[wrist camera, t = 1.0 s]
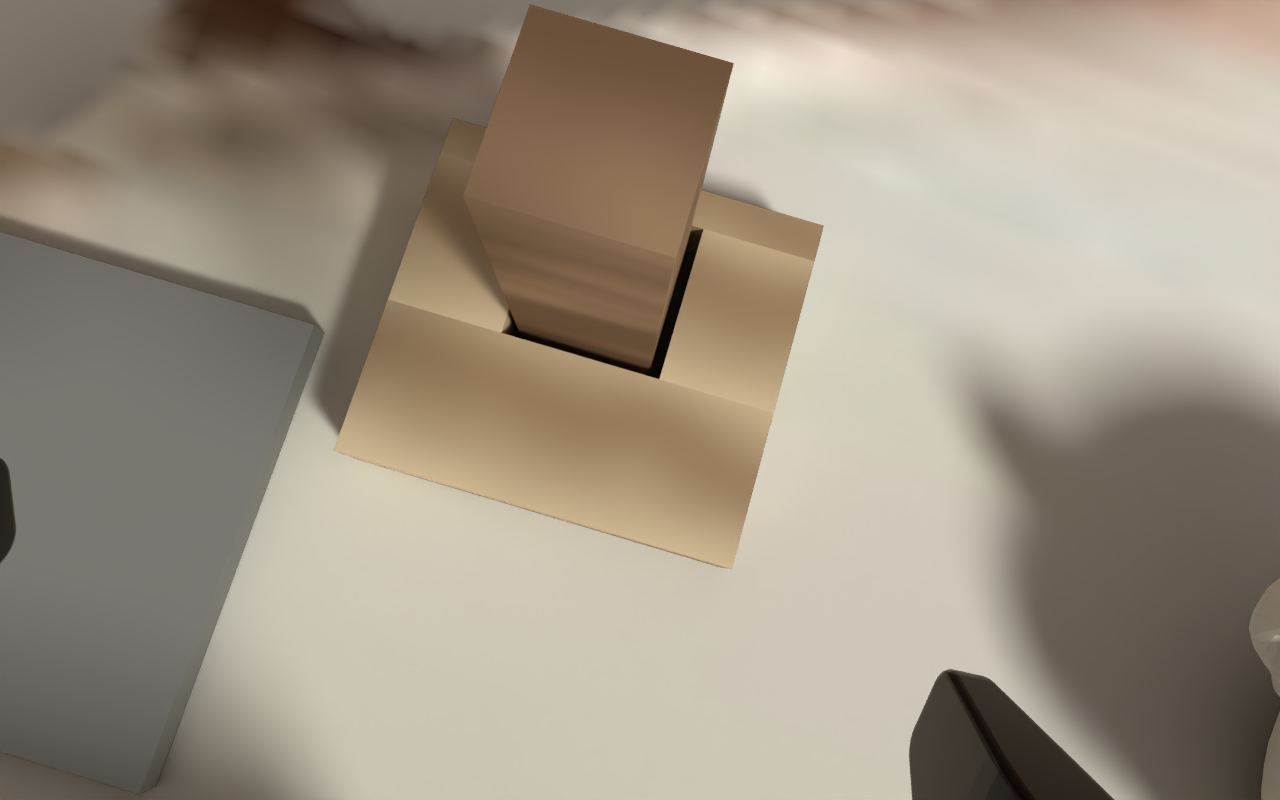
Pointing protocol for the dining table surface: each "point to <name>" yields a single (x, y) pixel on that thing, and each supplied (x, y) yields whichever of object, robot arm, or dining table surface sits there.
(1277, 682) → the teacup
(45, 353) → the grey mat
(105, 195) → the dining table surface
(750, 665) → the dining table surface
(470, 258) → the oak holder
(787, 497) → the dining table surface
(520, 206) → the walnut block
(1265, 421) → the dining table surface
